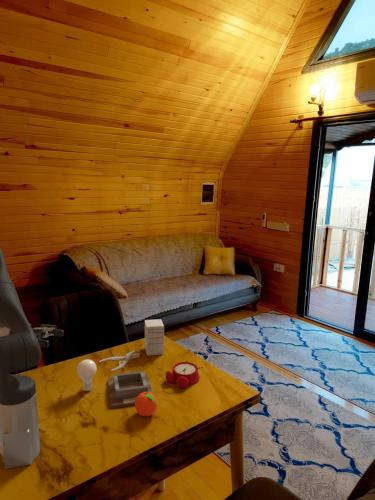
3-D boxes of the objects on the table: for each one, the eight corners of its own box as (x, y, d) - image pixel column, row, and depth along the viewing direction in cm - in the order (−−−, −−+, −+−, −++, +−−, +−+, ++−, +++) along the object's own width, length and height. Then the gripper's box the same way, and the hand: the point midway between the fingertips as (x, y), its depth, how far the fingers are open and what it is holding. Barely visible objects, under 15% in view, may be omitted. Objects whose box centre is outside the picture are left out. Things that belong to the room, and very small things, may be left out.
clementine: (164, 413, 115) (164, 392, 113) (150, 425, 109) (150, 404, 108) (144, 404, 119) (144, 384, 118) (130, 415, 114) (129, 394, 112)
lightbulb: (77, 396, 123) (76, 366, 120) (78, 386, 129) (76, 357, 126) (97, 394, 124) (96, 364, 122) (97, 383, 130) (96, 355, 128)
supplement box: (144, 347, 158) (144, 319, 155) (161, 346, 159) (161, 318, 157) (146, 356, 151) (146, 326, 148) (164, 354, 152) (164, 325, 150)
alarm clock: (206, 366, 137) (183, 374, 124) (204, 383, 137) (181, 393, 124) (183, 358, 143) (159, 365, 130) (181, 374, 143) (157, 383, 130)
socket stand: (154, 402, 121) (154, 391, 120) (111, 408, 117) (110, 397, 116) (147, 376, 136) (147, 366, 135) (108, 381, 132) (107, 371, 131)
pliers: (98, 358, 145) (130, 347, 155) (98, 362, 146) (130, 351, 155) (111, 368, 138) (144, 356, 148) (111, 372, 138) (144, 360, 148)
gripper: (-1, 330, 122) (42, 337, 118) (28, 315, 136) (67, 320, 132) (1, 351, 124) (43, 358, 120) (29, 334, 137) (68, 340, 133)
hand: (56, 338), depth 126 cm, fingers open, 8 cm apart
